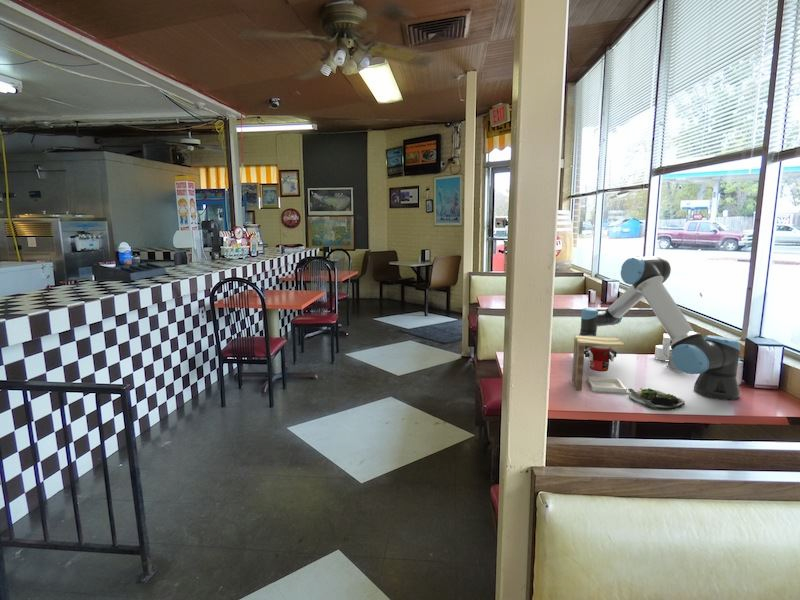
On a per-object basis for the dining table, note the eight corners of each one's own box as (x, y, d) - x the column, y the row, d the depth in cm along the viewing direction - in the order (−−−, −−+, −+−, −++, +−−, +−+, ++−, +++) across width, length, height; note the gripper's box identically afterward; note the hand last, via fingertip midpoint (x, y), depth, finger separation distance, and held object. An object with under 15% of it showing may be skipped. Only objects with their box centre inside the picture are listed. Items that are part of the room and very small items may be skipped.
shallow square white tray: (586, 380, 198) (586, 376, 197) (618, 382, 195) (618, 378, 195) (592, 391, 185) (592, 386, 185) (626, 393, 183) (626, 388, 182)
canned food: (606, 373, 197) (608, 348, 195) (587, 369, 202) (588, 345, 200) (610, 368, 203) (612, 344, 201) (591, 365, 208) (593, 342, 206)
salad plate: (614, 396, 181) (614, 385, 180) (644, 389, 188) (645, 378, 188) (659, 414, 164) (660, 402, 163) (690, 406, 171) (692, 394, 170)
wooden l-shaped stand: (571, 380, 198) (574, 335, 195) (613, 382, 195) (617, 337, 191) (576, 389, 187) (579, 342, 183) (620, 392, 183) (624, 344, 180)
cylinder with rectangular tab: (675, 362, 222) (677, 338, 220) (654, 359, 227) (656, 336, 224) (675, 357, 230) (677, 334, 228) (654, 355, 234) (656, 332, 232)
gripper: (614, 353, 217) (627, 368, 195) (568, 350, 221) (576, 365, 199) (615, 337, 216) (628, 351, 194) (569, 335, 220) (577, 348, 198)
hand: (602, 358), depth 197 cm, fingers closed on canned food, 8 cm apart
